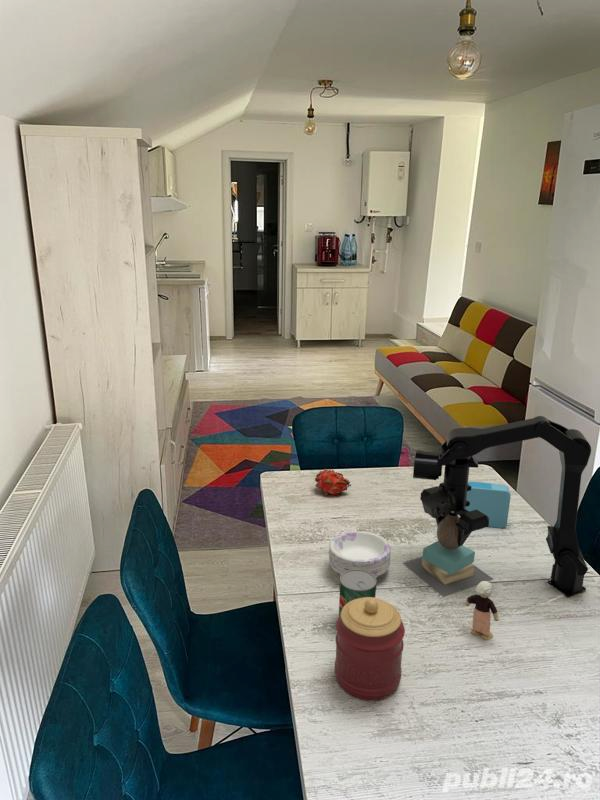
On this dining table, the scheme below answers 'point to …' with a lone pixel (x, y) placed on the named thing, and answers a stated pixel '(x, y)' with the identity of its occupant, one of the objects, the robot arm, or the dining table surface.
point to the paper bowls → (359, 553)
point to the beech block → (447, 577)
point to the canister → (369, 648)
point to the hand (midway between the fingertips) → (450, 538)
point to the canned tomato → (356, 586)
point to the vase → (448, 531)
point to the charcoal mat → (452, 587)
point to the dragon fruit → (331, 482)
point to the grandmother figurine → (482, 610)
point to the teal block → (448, 557)
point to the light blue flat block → (490, 502)
